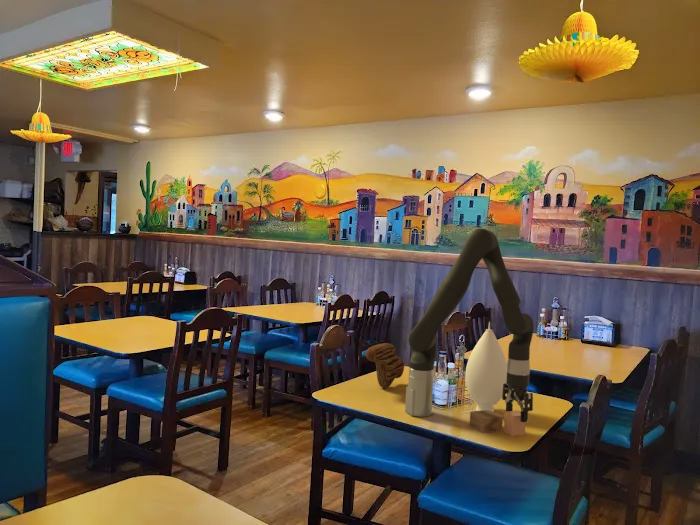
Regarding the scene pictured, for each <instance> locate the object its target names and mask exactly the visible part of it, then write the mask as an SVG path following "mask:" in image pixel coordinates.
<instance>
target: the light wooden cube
mask: <svg viewBox="0 0 700 525" xmlns="http://www.w3.org/2000/svg"><path fill="white" fill-rule="evenodd" d="M520 420H521V411H518V410H512V411H506V410H505V411H504V422H503V424H504V425H503V432H504V431H505V432H504V433H506V434H508V435H509V434H510V435H509V436H511V435H512V436H511V437H516V436H515V435H523V436H526V423H527V422H521V421H520Z"/></svg>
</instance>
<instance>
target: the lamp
mask: <svg viewBox="0 0 700 525" xmlns="http://www.w3.org/2000/svg"><path fill="white" fill-rule="evenodd" d="M507 362H508V361H507V359H506V357H505V353H504V351H503V349H502V347H501V345H500V343H499V340H498V339H497V337H496V335H495V333H494V332H493V329H491V322H490V321H488V328H486V329H485V331H484V333H483V334H482V335H481V337H480V338H479V339H478V340H477V343H476V344H475V346H474V347H473V349H472V351H471V353H470V355H469V357H468V360H467V363H466V367H465V374H464V376H465V387H466V389H467V392H468V395H469V396H470V398H471V399H472V401H473V402H475V403H476V404H477V405H476V407H475V411H483V410H490V411H492V412H494V413H495V411H494V405H497V404H498V402H499V401H501V399H502V393H503V384H505V383H506V381H507Z"/></svg>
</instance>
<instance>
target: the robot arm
mask: <svg viewBox="0 0 700 525" xmlns="http://www.w3.org/2000/svg"><path fill="white" fill-rule="evenodd" d="M501 252H502V251H501V249H500V244H499V241H498V238H497V235H495V233H493V232H492V231H490V230H488V229H485V228H477V229H475V230H472V231H471V233H469V235H468V237H467V238H466V241H465V243H464V244H463V246H462V249H461V252H460V253H459V255H458V257H457V259H456V260H455V262H454V263H453V265H452V266H451V267H450V269H449V271H448V273H447V274H446V276H445V277H444V278H443V280H442V282H441V283H440V284H439V286H438V288H437V290H436V291H435V293H434V295H433V297H432V298H431V301H430V302H429V305H428V307H427V309H426V311H425V313H424V314H423V315H422V316H421V318H420V320H418V321H417V324H416V325H414V327H413V328H412V329H411V331H410V332H409V335H408V343H409V344H408V345H409V346H410V348H411V349H412V350H411V351H412V352H411V356H410V359H409V363H408V364H409V365H408V382H407V383H408V384H407V385H408V386H406V387H405V401H404V402H405V404H404V405H405V406H404V408H405V409H404V411H405V412H406V414H408V415H409V416H411V417H420V418H421V417H423V418H425V417H429V416H431V415H432V414H433V413H432V412H433V411H432V410H433V395H434V394H433V393H434V392H433V391H434V371H435V369H434V368H435V363H436V356H437V347H438V346H437V345H438V344H437V342H438V337H437V333H438V331H439V330H440V327H441V326H442V325H443V324H444V322H445V321H446V319H448V317H450V315H452V313H453V312H454V311H455V309H456V308H457V307H458V305H459V304H460V303H461V301H462V299H463V298H464V296H466V293H467V291H468V289H469V286H470V283H471V280H472V278H473V277H472V276H473V273H474V271H475V269H476V268H477V266H478V264H479V263H480V262H481V260H483V262H484V265H485V266H486V268H487V270H488V274H489V278H490V282H491V286H492V289H493V292H494V295H495V296H496V298H497V301H498V304H499V306H500V307H501V313H502V318H503V322H504V325H505V327H506V329H507V331H508V332H509V333H510V334H512V340H511V341H510V342H509V344H508V352H507V361H506V362H507V381H506V383H505V384H503V393H502V398H501V399H502V401H504V403H505V412H506V411H514V410H513V407H514V404H513V403H514V401H515V402H516V403H517V405H518V406H519V408H520V412H521V420H520V421H521V422H526V423H527V422H528V419H529V418H528V417H529V416H528V415H529V412H533V410H534V403H533V402H534V399H533V397H534V396H533V393H532V392H527V388H528V387H529V386H530V377H531V376H530V373H531V364H530V353H531V352H530V350H531V349H530V348H531V343H532V340H533V334H534V329H535V328H534V325H535V324H534V319H533V318H532V316H531V315H530V314H528V313H525V312H522V311H521V308H520V305H521V302H522V301H521V298H520V295H519V294H518V291H517V289H516V287H515V285H514V283H513V280H512V277H510V274H509V272H508V269H507V267H506V265H505V262H504V259H503V255H502V253H501Z"/></svg>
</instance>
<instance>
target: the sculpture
mask: <svg viewBox="0 0 700 525" xmlns="http://www.w3.org/2000/svg"><path fill="white" fill-rule="evenodd" d="M365 357H366V359H367V360H368V361H369V362H373V363H375V367H376V368H375V371H376V378H377V383H378V385H379V386H380V388H382V389H388V388H390V387H391V385H392V384H393V382H394V381H395V379H399V378H401V377H402V376H403V373H404V370H405V363H404V360H403V359H402V357H399V356H398V354H397V350H396V347H395V346H394V345H393V344H391V343H388V342H385V343H378V344H374V345H372V346H369V347H368V348H367V349H366V351H365Z"/></svg>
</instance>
